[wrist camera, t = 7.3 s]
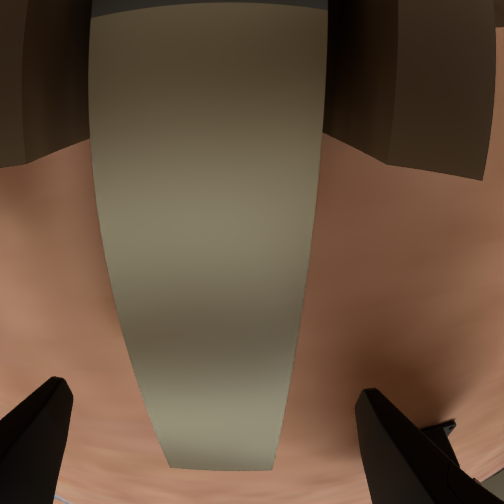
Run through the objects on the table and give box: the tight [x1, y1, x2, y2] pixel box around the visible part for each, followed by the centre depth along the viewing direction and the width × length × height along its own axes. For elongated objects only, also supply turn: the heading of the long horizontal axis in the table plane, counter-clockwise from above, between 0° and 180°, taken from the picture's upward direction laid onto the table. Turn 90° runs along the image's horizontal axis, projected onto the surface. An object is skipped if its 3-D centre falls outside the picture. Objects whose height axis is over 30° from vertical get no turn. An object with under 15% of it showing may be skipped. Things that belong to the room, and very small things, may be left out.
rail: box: [88, 0, 328, 471], centre depth 9 cm, size 15×4×5 cm, turn 178°
